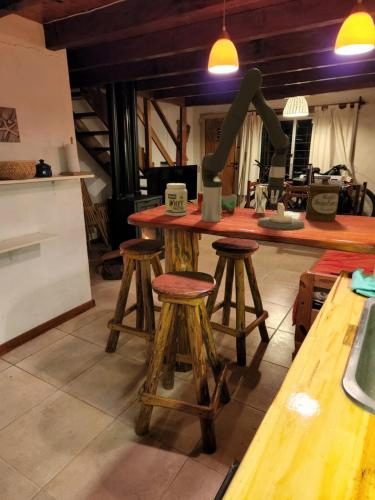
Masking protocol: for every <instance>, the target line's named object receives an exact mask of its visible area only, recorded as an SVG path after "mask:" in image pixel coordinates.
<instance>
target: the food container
mask: <svg viewBox="0 0 375 500" xmlns="http://www.w3.org/2000/svg"><path fill="white" fill-rule="evenodd" d="M237 199H238V197H237V195H236V194H235V193H231V194H230V195H221V214H234V213H235V209H236V201H237Z"/></svg>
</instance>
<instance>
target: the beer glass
mask: <svg viewBox="0 0 375 500" xmlns="http://www.w3.org/2000/svg"><path fill="white" fill-rule="evenodd" d="M267 187H268V185H256V186H255V192H254V198H255V199H254V200H255V201H254V202H255V209H254V213H255V214H265V213H266V203H267V199H266V198H265V196H264V195H263V193H262V192H263V191H265V190H267ZM267 195H269V193H268V191H267Z"/></svg>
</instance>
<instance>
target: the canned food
mask: <svg viewBox="0 0 375 500" xmlns="http://www.w3.org/2000/svg"><path fill="white" fill-rule="evenodd" d="M202 201H203V190H201V191H197V211H198V212H202Z"/></svg>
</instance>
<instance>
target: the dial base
mask: <svg viewBox="0 0 375 500" xmlns="http://www.w3.org/2000/svg"><path fill="white" fill-rule="evenodd" d="M270 219H271V216H264V217H259V218H258V219H257V225H258V226H261V227H263V228H267V229H271V230H273V229H274V230H282V231H284V230H285V231H288V230H291V231H294V230H300V229H303V228H304V227H305V222H304V221H303V220H301V219H297V218H293V217H292V221H291V222H290V223H277V222H272V221H270Z"/></svg>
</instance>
